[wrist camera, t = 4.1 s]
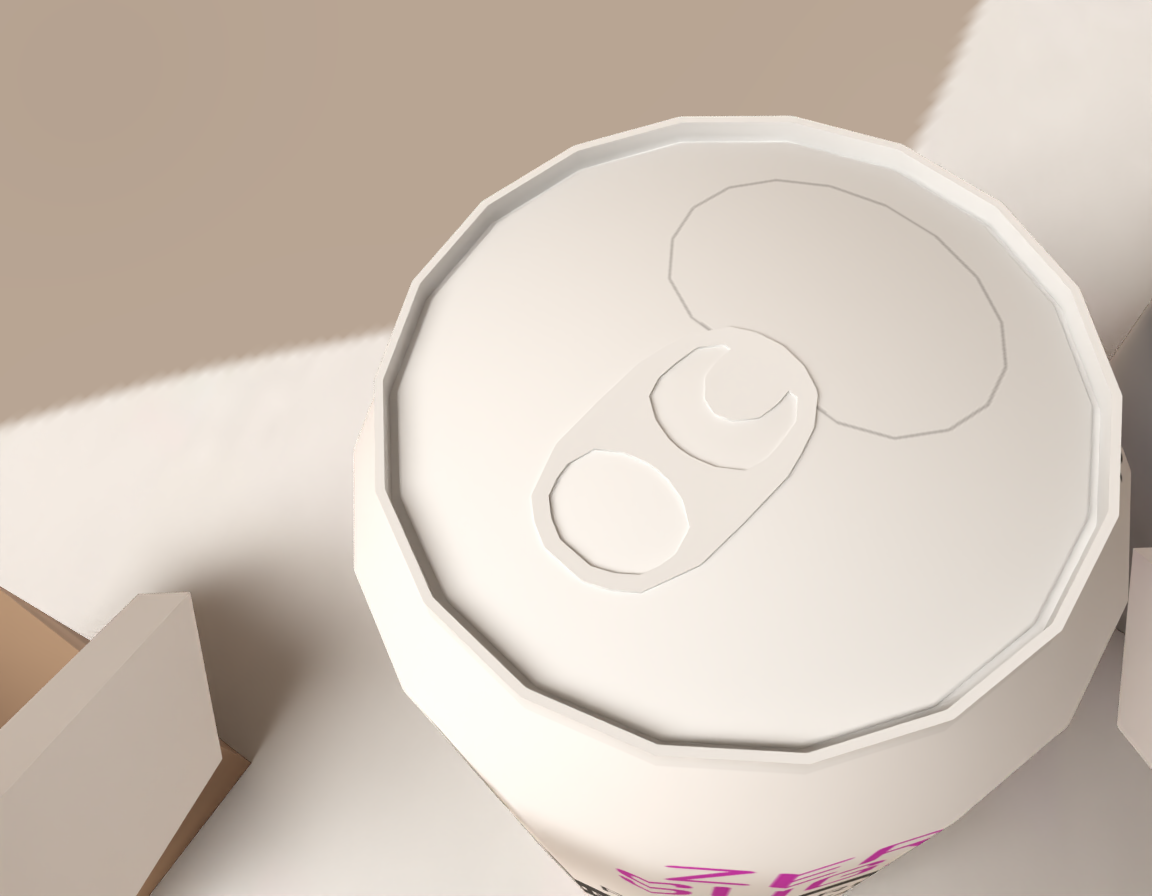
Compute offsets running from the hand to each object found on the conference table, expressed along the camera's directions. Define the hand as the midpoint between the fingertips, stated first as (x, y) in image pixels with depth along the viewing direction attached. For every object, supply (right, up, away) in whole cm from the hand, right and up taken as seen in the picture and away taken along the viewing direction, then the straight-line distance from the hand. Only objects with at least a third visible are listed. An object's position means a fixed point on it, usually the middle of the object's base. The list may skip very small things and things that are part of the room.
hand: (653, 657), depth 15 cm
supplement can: (+2, -3, +9) cm, 9 cm away
